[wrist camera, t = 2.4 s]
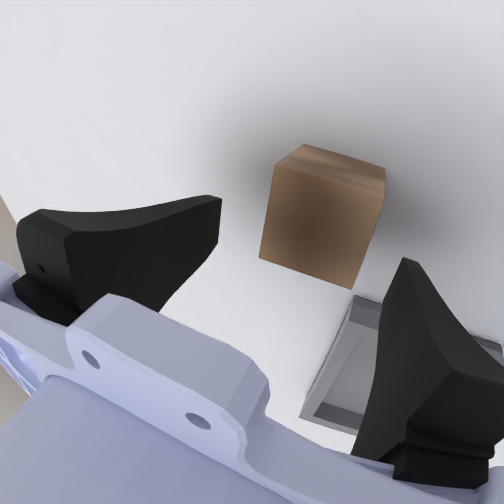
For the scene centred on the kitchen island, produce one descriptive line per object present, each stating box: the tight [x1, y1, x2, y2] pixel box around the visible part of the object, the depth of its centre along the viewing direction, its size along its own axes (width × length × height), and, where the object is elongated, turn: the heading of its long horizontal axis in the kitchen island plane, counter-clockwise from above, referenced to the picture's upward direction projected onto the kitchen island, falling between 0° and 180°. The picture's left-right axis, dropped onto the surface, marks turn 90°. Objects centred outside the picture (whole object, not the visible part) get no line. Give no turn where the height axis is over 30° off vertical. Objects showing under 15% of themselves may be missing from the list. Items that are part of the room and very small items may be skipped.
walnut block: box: [259, 144, 385, 290], centre depth 15 cm, size 4×4×5 cm
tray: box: [299, 295, 504, 436], centre depth 20 cm, size 12×12×2 cm
